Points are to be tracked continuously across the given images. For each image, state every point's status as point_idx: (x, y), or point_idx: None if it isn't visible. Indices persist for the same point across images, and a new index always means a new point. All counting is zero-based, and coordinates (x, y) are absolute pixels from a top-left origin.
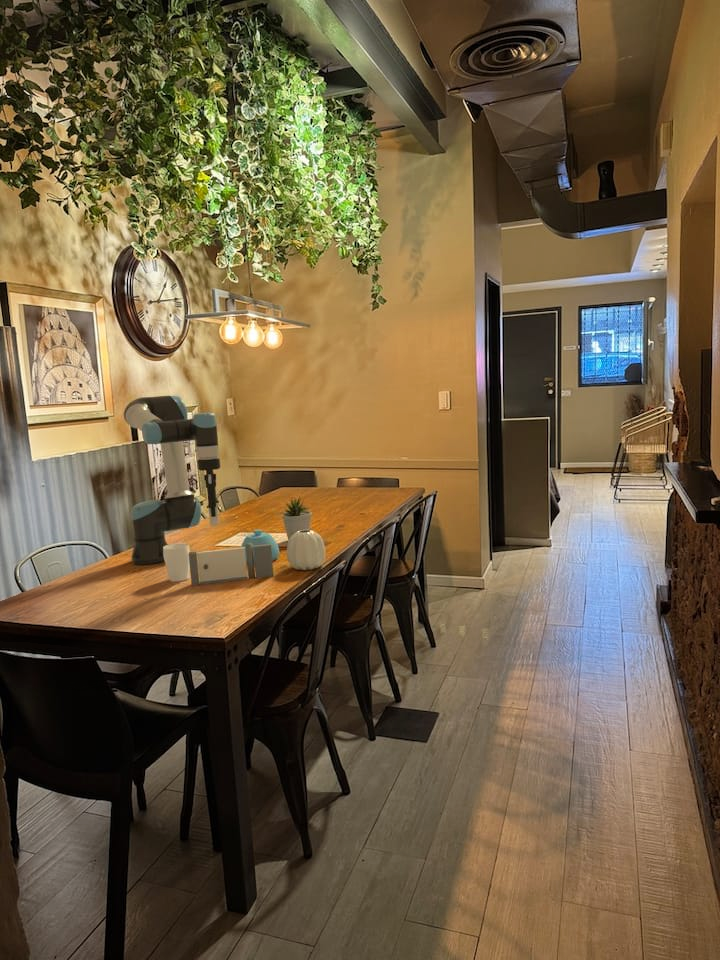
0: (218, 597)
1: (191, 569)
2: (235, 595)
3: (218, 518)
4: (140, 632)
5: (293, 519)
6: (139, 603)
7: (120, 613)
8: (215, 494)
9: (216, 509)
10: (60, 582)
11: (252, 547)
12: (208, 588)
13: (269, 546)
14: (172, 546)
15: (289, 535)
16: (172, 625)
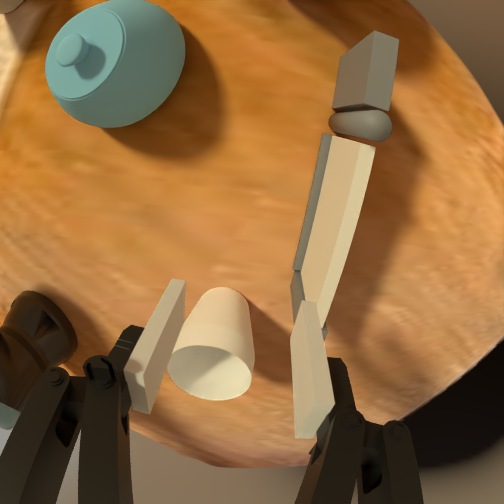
0: (442, 246)
1: None
2: (455, 209)
3: (179, 293)
4: (478, 360)
5: None
6: (358, 376)
7: (386, 393)
8: (118, 460)
9: (331, 388)
10: (150, 435)
11: (148, 79)
12: (362, 256)
13: (396, 46)
14: (172, 370)
15: (10, 2)
16: (492, 327)
